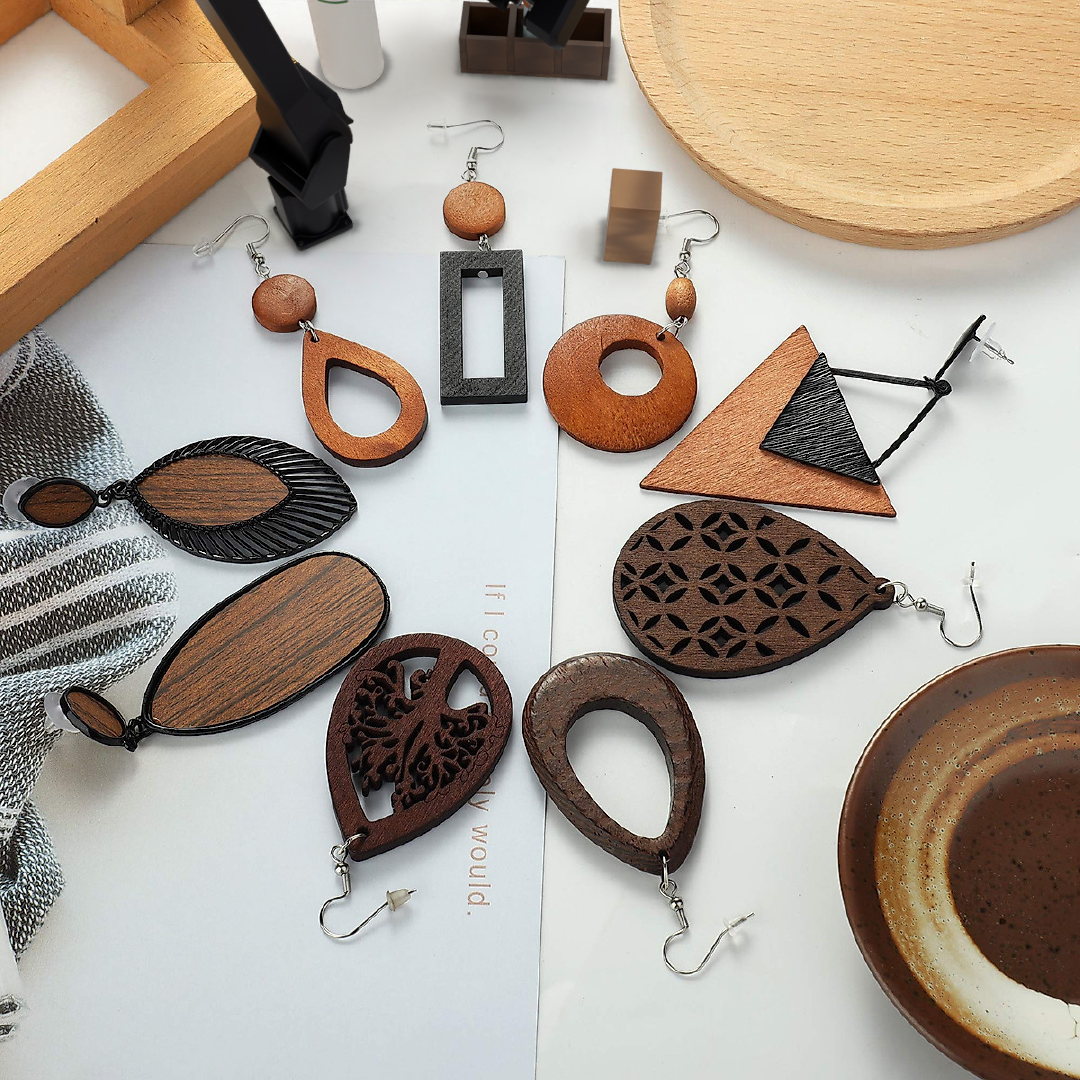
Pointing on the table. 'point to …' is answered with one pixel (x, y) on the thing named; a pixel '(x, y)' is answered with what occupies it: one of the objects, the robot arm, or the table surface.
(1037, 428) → the table surface
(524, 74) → the box
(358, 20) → the cylindrical container
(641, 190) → the tube stand
